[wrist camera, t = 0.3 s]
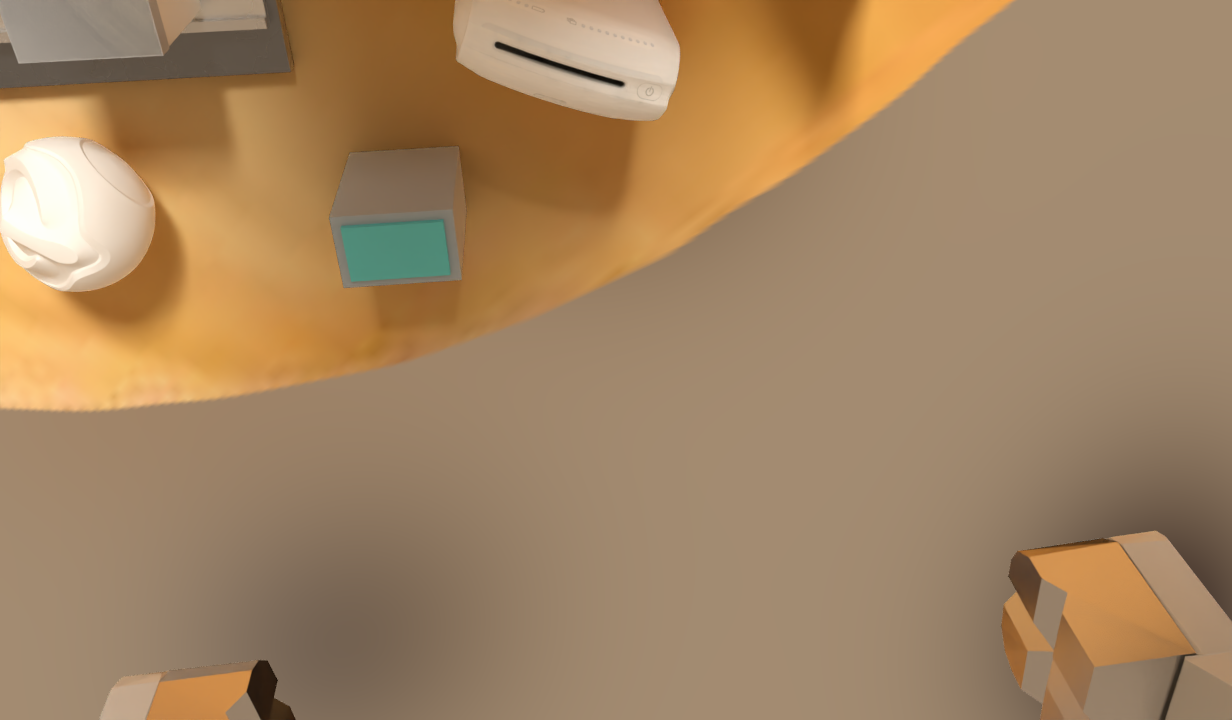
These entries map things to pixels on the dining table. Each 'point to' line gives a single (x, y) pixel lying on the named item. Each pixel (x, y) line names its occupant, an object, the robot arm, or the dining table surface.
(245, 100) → the dining table surface
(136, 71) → the rail panel
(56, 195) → the white lumpy ball
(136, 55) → the plate
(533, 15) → the photo printer
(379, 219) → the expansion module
